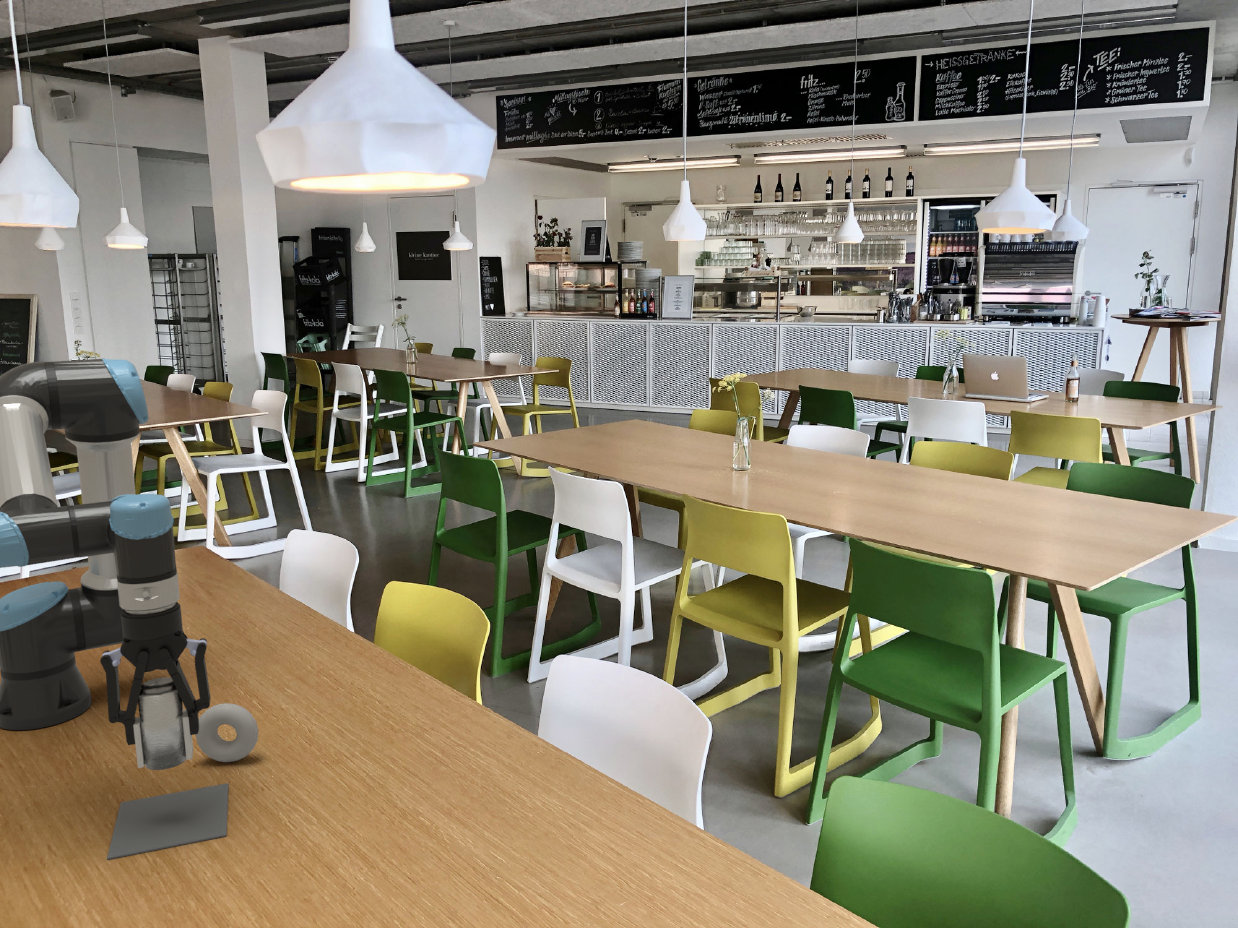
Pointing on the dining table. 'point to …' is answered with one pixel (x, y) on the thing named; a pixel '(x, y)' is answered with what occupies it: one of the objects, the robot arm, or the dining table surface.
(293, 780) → the dining table surface
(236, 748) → the donut
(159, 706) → the shaker
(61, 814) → the dining table surface
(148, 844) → the mat
